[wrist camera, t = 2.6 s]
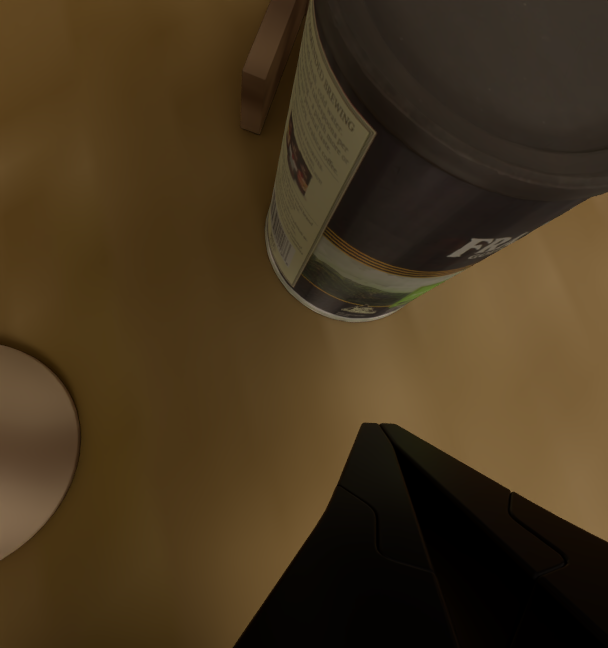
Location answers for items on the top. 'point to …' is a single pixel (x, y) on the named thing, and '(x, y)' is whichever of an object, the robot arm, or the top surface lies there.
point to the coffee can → (432, 142)
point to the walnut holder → (269, 60)
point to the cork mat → (33, 446)
